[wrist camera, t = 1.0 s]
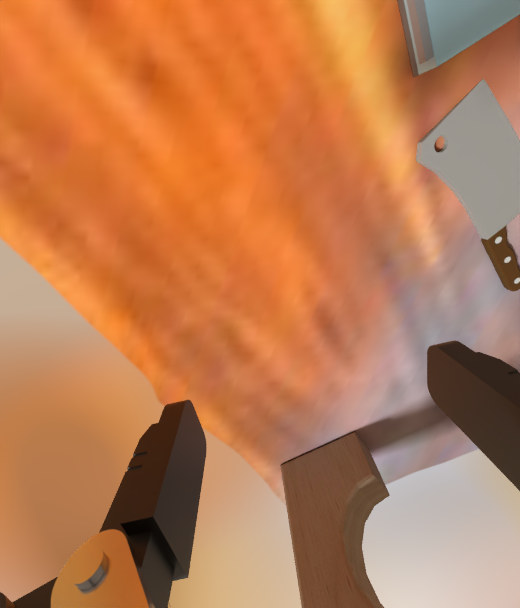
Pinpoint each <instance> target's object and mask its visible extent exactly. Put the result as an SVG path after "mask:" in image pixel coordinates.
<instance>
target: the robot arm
mask: <svg viewBox="0 0 520 608" xmlns="http://www.w3.org/2000/svg"><path fill="white" fill-rule="evenodd" d="M427 384H428V390H429V392H430V395H431V397H432V399H433V400H434V402H435V403H436V404H437V405H438V406H439V407H440V408H441V409H442V410H443V411H444V412H445V413H446V415H447V416H448V417H449V418H450V419H451V420H452V421H453V422H454V423H455V424H456V425H457V426H458V427H459V428H460V429H461V430H462V431H463V432H464V433H465V434H466V435H467V436H468V437H469V438H470V440H471V441H472V442H473V443H474V444H475V445H476V446H477V447H478V448H479V449H480V450H481V451H482V452H483V453H484V454H485V455H486V456H487V457H488V458H489V459H490V460H491V461H492V462H493V463H494V465H496V467H497V468H498V469H499V470H500V471H501V472H502V473H503V474H504V475H505V476H506V477H507V478H508V479H509V480H510V481H511V482H512V483H513V484H514V485H515V486H516V487H517V489H518V490H519V491H520V373H519V372H518V370H516V369H515V368H513V367H512V366H510V365H508V364H507V363H505V362H503V361H502V360H500V359H497V358H494V357H492V356H489V355H486V354H483V353H480V352H477V353H476V352H474V351H473V350H471V349H469V348H468V347H466V346H465V345H463V344H462V343H460V342H458V341H450V342H446V343H441V344H437V345H432V346H430V347H429V348H428V352H427ZM205 457H206V439H205V435H204V432H203V429H202V427H201V424H200V422H199V419H198V417H197V414H196V411H195V409H194V406H193V404H192V402H191V401H190V400H185V401H181V402H176V403H172V404H167V405H166V406H165V407H164V410H163V412H162V415H161V418H160V420H159V423H156V424H152V425H151V426H150V427H149V429H148V430H147V431H146V432H145V433H144V435H143V436H142V437H141V438H140V440H139V443H138V445H137V447H136V449H135V452H134V454H133V458H132V459H131V461H130V463H129V466H128V468H127V469H128V471H127V472H125V475H124V477H123V479H122V482H121V484H120V486H119V489H118V491H117V493H116V496H115V498H114V500H113V502H112V505H111V508H110V510H109V512H108V514H107V517H106V519H105V521H104V523H103V526H102V528H101V530H100V532H99V533H98V534H96V535H94V536H93V537H91V538H90V539H89V540H87V541H86V542H85V543H84V544H82V545H81V546H80V547H79V548H78V549H77V550H76V551H75V552H74V553H73V555H72V556H71V557H70V558H69V560H68V561H67V562H66V564H65V566H64V567H63V568H62V570H61V572H60V573H59V575H58V577H56V578H55V579H53V580H51V581H49V582H48V583H46V584H44V585H43V586H41V587H39V588H37V589H35V590H34V591H32V592H30V593H28V594H26V595H25V596H23V597H21V598H19V599H18V600H16V601H14V602H11V601H10V600H9V599H8V598H7V597H6V596H5V595H4V594H2V593H0V608H171V606H170V604H169V597H170V591H171V586H172V581H175V580H179V579H184V578H188V574H189V568H190V561H191V554H192V547H193V540H194V533H195V527H196V519H197V513H198V505H199V499H200V492H201V485H202V478H203V471H204V465H205Z"/></svg>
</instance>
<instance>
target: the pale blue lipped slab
mask: <svg viewBox="0 0 520 608" xmlns="http://www.w3.org/2000/svg"><path fill="white" fill-rule="evenodd" d="M397 1H398V6H399V11H400V15H401V20H402V25H403V30H404V34H405V39H406V44H407V49H408V53H409V58H410V63H411V68H412V72H413V77H415V76H417V75H420V74H422V73H424V72H427V71H429V70H431V69H433V68H436V67H438V66H439V65H441V64H442V63H444V62H446V61H447V60H449V59H450V58H452V57H453V56H455V55H457V54H458V53H460V52H461V51H463V50H464V49H466V48H468V47H469V46H471V45H472V44H474V43H475V42H477V41H479V40H480V39H482V38H483V37H485V36H487V35H488V34H490V33H491V32H493V31H494V30H496V29H498V28H499V27H501V26H502V25H504V24H505V23H507V22H509V21H510V20H512V19H513V18H515V17H516V16H518V15H520V0H397Z"/></svg>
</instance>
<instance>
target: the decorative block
mask: <svg viewBox="0 0 520 608" xmlns="http://www.w3.org/2000/svg"><path fill="white" fill-rule="evenodd" d="M281 472H282V479H283V485H284V492H285V499H286V505H287V512H288V518H289V525H290V531H291V538H292V545H293V552H294V558H295V565H296V571H297V578H298V585H299V591H300V598H301V604H302V608H384V607H383V606H382V604H380V602H379V600H378V597H377V596H376V593H375V591H374V589H373V587H372V585H371V583H370V581H369V579H368V577H367V574H366V569H365V563H364V558H363V552H362V540H363V533H364V525H365V522H366V520H367V518H368V517H369V515H370V513H371V511H372V510H373V508H374V506H375V505H376V504H378V503H379V502H381V501H382V500H384V499H385V498H386V497H388V496H389V493H388V490H387V488H386V486H385V484H384V482H383V480H382V477H381V475H380V473H379V471H378V469H377V466H376V464H375V462H374V460H373V458H372V456H371V453H370V451H369V449H368V448H367V447H366V445H365V444H364V443H363V441H362V440H361V439H360V437H359V436H358V434H357V433H356V432H353V433H351V434H349V435H347V436H345V437H342V438H340V439H338V440H336V441H334V442H331V443H329V444H327V445H325V446H322V447H320V448H318V449H316V450H314V451H311V452H309V453H307V454H305V455H303V456H300V457H298V458H296V459H294V460H292V461H289V462H287V463H285V464H283V465H281Z"/></svg>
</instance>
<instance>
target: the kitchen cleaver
mask: <svg viewBox="0 0 520 608" xmlns="http://www.w3.org/2000/svg"><path fill="white" fill-rule="evenodd" d="M440 136H442V137H443V138H444V140H445V143H444V146H443V148H442V149H441V151H439V152H436V150H435V148H434V144H435V141H436V140H437V138H438V137H440ZM416 161H417V162H418V163H420V164H421V165H423V166H425V167H426V168H428V169H430V170H431V171H433V172H434V173H435V174H436V175H437V176H438V177H439V178H440V179H441V180H442V181H443V182H444V183H445V184H446V185H447V186H448V187H449V188H450V189H451V190H452V191H453V193H454V194H455V195H456V197H457V198H458V200H459V201H460V203H461V204H462V205H463V207H464V208H465V210H466V211H467V213H468V215H469V217H470V219H471V221H472V222H473V224H474V226H475V228H476V230H477V231H478V233H479V235H480V237H481V238H482V239H481V241H482V243H483V245H484V247H485V249H486V251H487V253H488V255H489V257H490V259H491V261H492V263H493V266H494V268H495V270H496V272H497V274H498V276H499V278H500V280H501V282H502V284H503V286H504V287H505V288H506V289H508V290H510V291H517V290H519V289H520V270H519V268H518V266H517V259H516V257H515V255H514V252H513V250H512V249H511V248H510V247H509V246H508V244H507V233H506V231H505V228H506V226H507V224H508V223H509V222H511V221H512V220H513V219H514V218H515V217H516V216H517V215H518V214H519V213H520V140H519V138H518V136H517V134H516V132H515V130H514V129H513V127H512V125H511V124H510V122H509V120H508V118H507V117H506V115H505V113H504V112H503V110H502V108H501V106H500V105H499V103H498V102H497V100H496V98H495V96H494V95H493V93H492V91H491V90H490V88H489V86H488V84H487V83H486V82H485V80H484V79H482V80H481V81H480V82H479V83H478V84H477V85H476V86H475V87H474V88H473V89H472V90H471V91H470V92H469V93H468V94H467V95H466V96H465V97H464V98H463V99H462V100H461V101H460V102H459V103H458V104H457V105H456V106H455V107H454V108H453V109H452V110H451V111H450V112H449V113H448V114H447V115H446V116H445V117H444V118H443V119H442V120H441V121H440V122H439V123H438V124H437V125H436V126H435V127H434V128H432V129H431V130H430V131H429V132H428V133H427V134H426V135H425V136H424V137H423V138H422V139H421V140H420V141H419V142H418V146H417V156H416Z"/></svg>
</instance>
